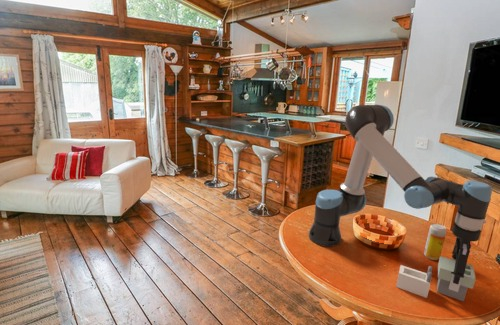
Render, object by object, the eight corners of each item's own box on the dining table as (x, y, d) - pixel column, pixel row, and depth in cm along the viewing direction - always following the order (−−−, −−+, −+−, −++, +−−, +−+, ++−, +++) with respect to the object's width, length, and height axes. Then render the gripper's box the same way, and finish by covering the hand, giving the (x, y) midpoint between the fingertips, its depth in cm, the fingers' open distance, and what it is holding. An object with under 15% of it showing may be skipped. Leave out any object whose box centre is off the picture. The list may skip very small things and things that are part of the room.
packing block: (437, 292, 105) (441, 275, 103) (437, 284, 109) (441, 268, 107) (463, 301, 100) (468, 284, 99) (462, 293, 105) (467, 276, 103)
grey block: (437, 277, 102) (440, 267, 101) (437, 265, 109) (440, 255, 108) (472, 289, 96) (475, 278, 95) (470, 274, 104) (473, 265, 103)
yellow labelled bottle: (441, 261, 123) (449, 230, 119) (426, 259, 124) (433, 228, 120) (436, 254, 129) (443, 223, 125) (421, 252, 130) (428, 222, 126)
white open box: (395, 286, 107) (400, 264, 104) (397, 278, 111) (402, 256, 109) (426, 298, 101) (432, 275, 99) (427, 288, 106) (432, 266, 104)
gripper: (485, 243, 87) (467, 305, 93) (477, 217, 104) (463, 270, 110) (455, 236, 90) (440, 295, 96) (453, 212, 108) (440, 263, 114)
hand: (452, 282), depth 103 cm, fingers closed on grey block, 9 cm apart
